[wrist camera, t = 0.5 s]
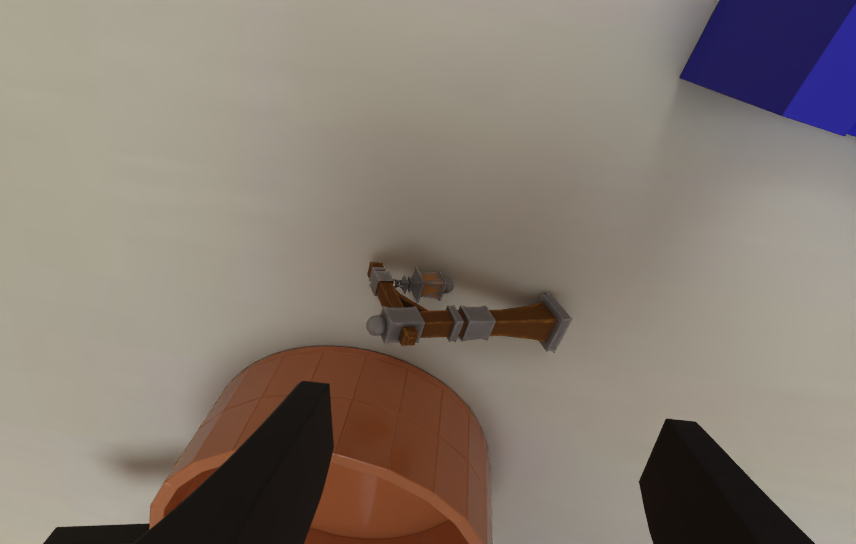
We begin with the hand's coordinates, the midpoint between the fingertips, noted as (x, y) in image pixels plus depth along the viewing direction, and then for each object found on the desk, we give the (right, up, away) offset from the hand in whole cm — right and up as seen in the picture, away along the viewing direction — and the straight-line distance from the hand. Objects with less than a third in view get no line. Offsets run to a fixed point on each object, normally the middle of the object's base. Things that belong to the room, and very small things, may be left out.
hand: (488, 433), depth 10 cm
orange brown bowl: (-6, -7, +16) cm, 18 cm away
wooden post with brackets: (0, +3, +10) cm, 10 cm away
